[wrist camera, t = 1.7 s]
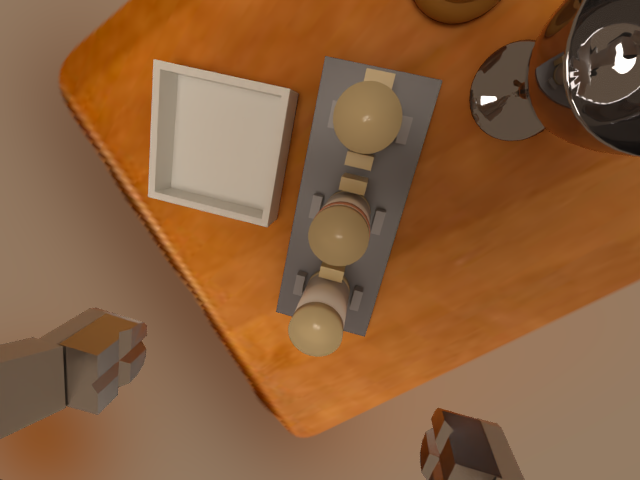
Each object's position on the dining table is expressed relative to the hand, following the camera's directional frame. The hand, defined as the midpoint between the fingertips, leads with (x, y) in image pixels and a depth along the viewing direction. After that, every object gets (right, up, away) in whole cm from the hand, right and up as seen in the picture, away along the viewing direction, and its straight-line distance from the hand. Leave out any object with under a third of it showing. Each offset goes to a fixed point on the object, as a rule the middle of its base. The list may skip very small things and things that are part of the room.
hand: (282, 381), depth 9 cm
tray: (-7, +12, +21) cm, 26 cm away
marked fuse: (+3, +6, +20) cm, 21 cm away
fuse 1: (+2, -1, +22) cm, 22 cm away
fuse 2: (+5, +13, +17) cm, 22 cm away
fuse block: (+4, +7, +21) cm, 23 cm away
